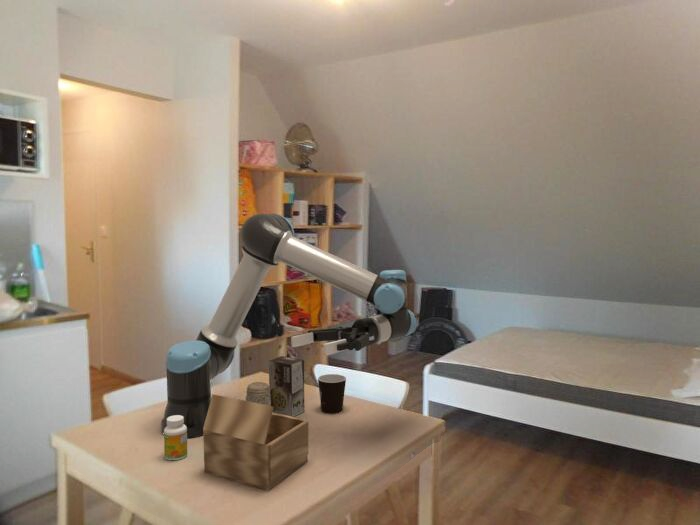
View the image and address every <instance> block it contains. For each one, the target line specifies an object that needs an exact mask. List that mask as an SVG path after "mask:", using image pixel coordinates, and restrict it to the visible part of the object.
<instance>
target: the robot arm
mask: <svg viewBox="0 0 700 525" xmlns="http://www.w3.org/2000/svg"><path fill="white" fill-rule="evenodd" d="M240 240H241V244H242V246H241V252H242V255H243V256H242V258H241V260H240V263H239V264H238V266H237V267H236V271H235V272H234V274H233V276H232V278H231V280H230V283H229V284H228V286H227V288H226V290H225V293H224V294H223V296H222V298H221V301H220V303H219V304H218V307H217V309H216V311H215V313H214V314H213V317H212V318H211V320H210V322H209V324H207V325H204V326H202V327H201V329H200V331H199V333H198V335H197V337H196V339H195V340H185V341H183V342H178V343H176V344H173V345H171V346H170V348H168V349H167V352H166V360H165V367H166V393H167V395H166V396H167V398H166V399H167V403H166V407H165V410H164V414H163V418H162V420H161V425H160V426H161V427H160V428H161V433H162V432H163V433H164V429H165V428H166V427H167V426H168V425H167V418H168V417H170V416H174V415H181V416H183V417H184V423H183V424H184V425H186V427H187V439H189V438H195V437H199V436H200V437H202V436H203V427H204V424H205V420H206V416H207V413H208V409H209V405H210V402H211V398H212V393H211V392H212V384H211V383H212V382H211V381H212V380H213V379H214V378H216V377H217V376H218V375H220V374H222V373H224V372H225V371H226V369H228V368H229V366H230V365H231V364H232V362H233V360H234V358H235V350H236V347H237V346H238V339H237V338H236V336H237V335H238V332H239V331H240V329H241V327H242V325H243V323H244V320H245V319H246V317H247V315H248V313H249V311H250V309H251V307H252V305H253V303H254V301H255V300H256V298H257V297H256V296H257V295H258V293H259V292H260V290H261V286H262V285H263V283H264V281H265V279H266V277H267V275H268V273H269V271H270V270H271V269H272V268H276V267H277V266H278V265H279V264H280V263H281V264H282V263H283V264H285V265H286V266H289V267H291V268H293V269H295V270H297V271H300V272H302V273H304V274H306V275H307V276H311V277H313V278H315V279H316V280H319V281H321V282H324V283H326V284H327V285H329V286H332V287H334V288H337V289H339V290H341V291H343V292H346V294H347V293H348V294H350V295H352V296H354V297H356V298H359V299H361V300H363V301H364V302H366V303H368V304H371V305H373V306H375V307H376V308H377V310H379V311H380V312H381V314H376V315H371V316H368V317H364V318H359V319H356V320H354V321H353V323H352V325H351V326H347V327H343V326H339V327H338V326H337V327H332V328H323V329H322V328H321V329H311V330H308V331H307V332H306V333H301V334H297V335H294V336H293V335H292V336H291V337H290V339H291V340H290V341H291V342H290V343H291V348H297V347H301V346H306V345H313V344H314V343H315V342H326V341H327V342H326V343H323V353H324V354H323V356H330V355H334V354H339V353H342V352H345V351H353V350H354V351H357V352H358V351H361V350H362V349H364V348H366V347H369V346H373V345H377V346H379V345H380V346H381V343H384V342H386V341H392V340H395V339H396V340H397V339H399V338H400V339H401V338H404V337H407V336H409V335H411V334H413V333H414V332H416V331H415V330H416V328H417V322H418V321H417V318H416V317H415V314H414V312H412V311H411V310H410V309H409V308H408V287H407V285H408V284H407V283H408V281H407V273H406V271H405V270H403V269H389V270H388V269H386V270H382V271H381V272H380V273H379V275H378V274H375V273H374V272H371V271H369V270H367V269H365V268H363V267H360V266H358V265H357V264H354V263H351V262H349V261H347V260H346V259H343V258H341V257H339V256H337V255H334V254H332V253H329V252H328V251H326V250H323V249H321V248H319V247H317V246H314V245H313V244H311V243H308V242H307V241H304V240H301V239H300V238H298V237H295V231H294V227H293V225H292V223H291V222H290V220H288V219H287V218H286V217H284V216H282V215H280V214H278V213H256V214H254V215H251V216H250V217H248V218H247V219H246V220H245V221H244V222H243V224H242V226H241V229H240ZM329 341H331V342H329ZM163 433H162V434H163Z"/></svg>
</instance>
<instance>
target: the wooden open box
mask: <svg viewBox="0 0 700 525" xmlns="http://www.w3.org/2000/svg"><path fill="white" fill-rule="evenodd" d="M202 436H203V464H204V465H203V466H204V468H203V469H204V473H206V474H209V475H212V476H216V477H219V478H224V479H227V480H230V481H234V482H237V483H240V484H243V485H247V486H251V487H254V488H256V489H261V490H264V491H268V492H269V491H270V490H271V489H272V488H274V487H275V486H276V485H278V484H280V482H281V481H283V480H284V479H286V478H288V476H290V475H291V474H292V473H293V472H295V471H296V470H297V469H299V468H300V467H301V466H302V465H304V464H306V463H307V462H308V455H309V421H308V420H307V419H305V418H299V417H296V416H294V417H292V416H287V415H282V414H277V413H273V412H272V416H271V420H270V424H269V429H268V433H267V437H266V441H265V445H264V444H260V443H256V442H252V441H247V440H243V439H239V438H235V437H231V436H227V435H223V434H219V433H215V432H211V431H207V430H203V435H202Z"/></svg>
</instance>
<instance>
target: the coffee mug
mask: <svg viewBox="0 0 700 525" xmlns="http://www.w3.org/2000/svg"><path fill="white" fill-rule="evenodd" d="M317 382H318V390H319V391H318V392H319V400H320V408H321V412H322V413H324V414H327V415H328V414H329V415H334V414H336V413H337V414H339V412H340V413H342V412H343V407H344V399H345V392H346V391H345V390H346V382H347V378H346V376H345V375H343V374H338V373H336V374H335V373H330V374H329V373H328V374H327V373H326V374H322V375H320V376H318V377H317ZM341 411H342V412H341Z"/></svg>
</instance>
